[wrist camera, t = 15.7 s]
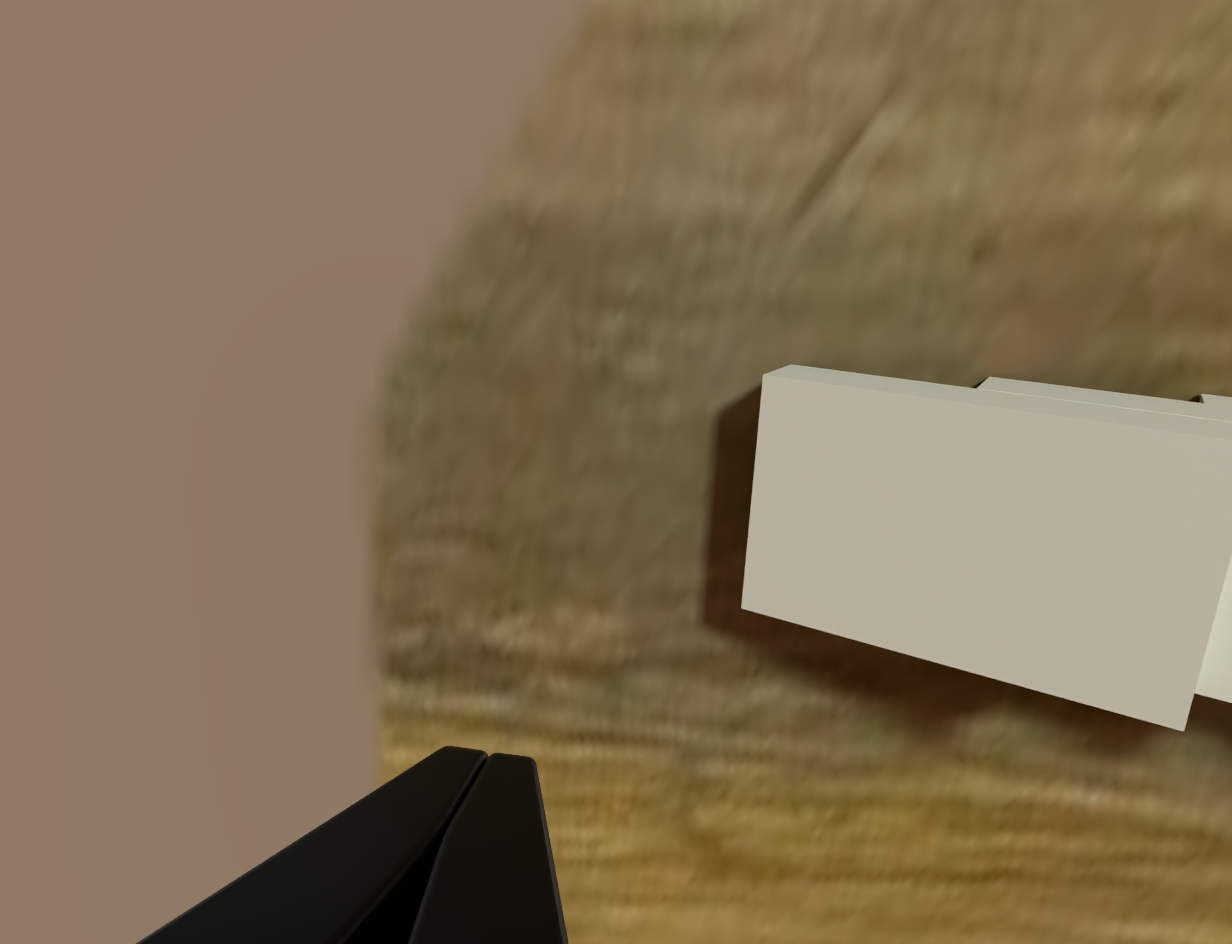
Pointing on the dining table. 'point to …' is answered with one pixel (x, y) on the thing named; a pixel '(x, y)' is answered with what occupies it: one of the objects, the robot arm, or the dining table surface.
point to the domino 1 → (995, 532)
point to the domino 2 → (1228, 653)
